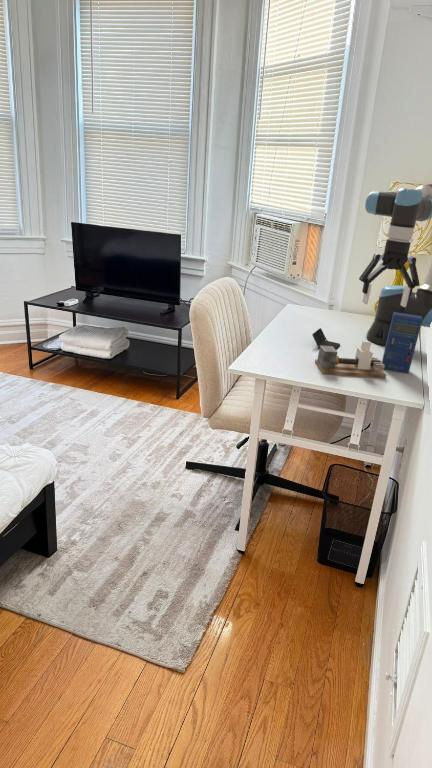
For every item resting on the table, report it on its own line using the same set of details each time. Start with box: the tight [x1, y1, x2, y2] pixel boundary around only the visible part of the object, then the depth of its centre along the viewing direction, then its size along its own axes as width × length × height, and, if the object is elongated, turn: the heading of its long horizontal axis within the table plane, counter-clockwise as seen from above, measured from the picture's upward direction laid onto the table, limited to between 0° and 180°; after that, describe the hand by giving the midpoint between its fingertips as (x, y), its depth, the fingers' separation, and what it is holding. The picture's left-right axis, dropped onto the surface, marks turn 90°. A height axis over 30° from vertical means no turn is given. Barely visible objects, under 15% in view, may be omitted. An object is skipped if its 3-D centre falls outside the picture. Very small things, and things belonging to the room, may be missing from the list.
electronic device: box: [381, 312, 423, 374], centre depth 184 cm, size 10×5×20 cm, turn 75°
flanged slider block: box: [354, 340, 374, 370], centre depth 181 cm, size 4×5×9 cm
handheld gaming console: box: [311, 327, 341, 351], centre depth 205 cm, size 12×7×10 cm
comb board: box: [314, 346, 387, 379], centre depth 181 cm, size 22×11×7 cm, turn 94°
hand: (384, 304), depth 177 cm, fingers open, 13 cm apart
